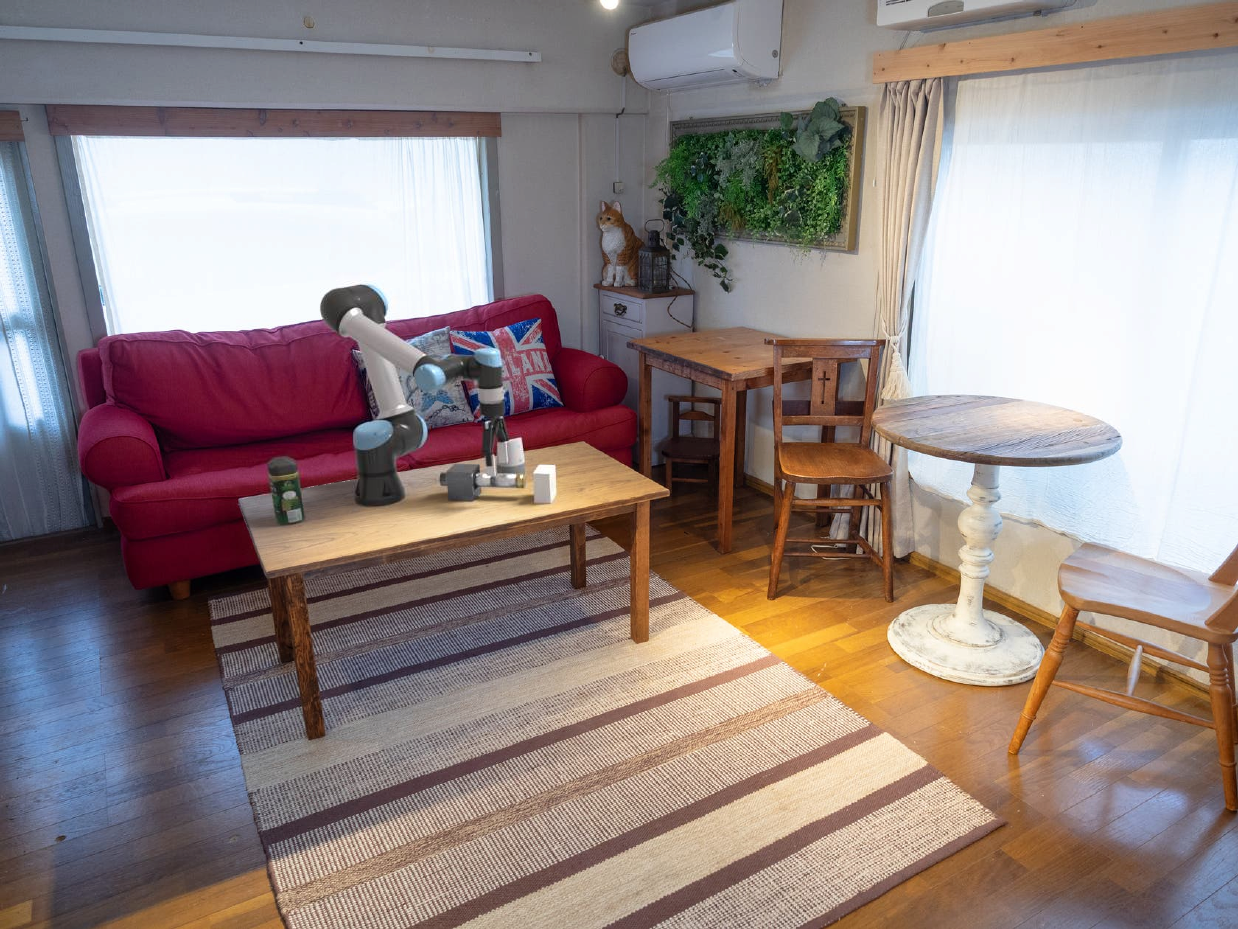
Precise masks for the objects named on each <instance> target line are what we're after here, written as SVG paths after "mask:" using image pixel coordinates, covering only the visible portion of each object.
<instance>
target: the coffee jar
mask: <svg viewBox="0 0 1238 929" xmlns="http://www.w3.org/2000/svg"><path fill="white" fill-rule="evenodd" d="M267 473H268V474H267V475H268V479H269V487H270V493H271V494H270V495H271V497H272V498H271V499H272V503H273V504H272V505H273V510H274V516H275V520H276V522H277V523H278V524H279V525H295V524H298V523H300V522H302V521H304V520H305V518H306V517H305V516H306V515H305V508H304V502H303V496H302V490H301V482H300V476H299V474H300V473H299V468H298V463H297V462H296V460H295V459H294V458H291V457H289V456H288V455H285V456H283V455H282V456H277V457H273V458H272V459H270V460H269V461H268V462H267Z"/></svg>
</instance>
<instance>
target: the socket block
mask: <svg viewBox="0 0 1238 929" xmlns="http://www.w3.org/2000/svg"><path fill="white" fill-rule="evenodd" d="M532 481H533V498H534V499H533V500H534V504H546V505H548V504H552V502H553V501H554V499H555V498H556V496H557V477H556V465H555V464H554V465H553V464H538V466H537V467H536V469H535V470H534V471H533V472H532Z"/></svg>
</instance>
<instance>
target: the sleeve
mask: <svg viewBox="0 0 1238 929" xmlns="http://www.w3.org/2000/svg"><path fill="white" fill-rule="evenodd" d="M480 466H481V465H480V464H479V463H478V464H475V463H474V464H473V463H454V464H452V466H450V467H449V468H448V469H447V470H446V471H445V472H446V478H447V486H446V488H447V500H448V502H450V501H452V502H453V501H455V502H475V500H476V499H477V498H478V497H479V496H480V495H481V494H482V487H474V482H473V474H474V473H481V467H480Z"/></svg>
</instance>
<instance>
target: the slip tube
mask: <svg viewBox="0 0 1238 929" xmlns="http://www.w3.org/2000/svg"><path fill="white" fill-rule="evenodd" d="M473 482H474V487H481V488H495V489H496V488H498V489H525V487H526V483H527V476H526V473H525V474H506V473H497V472H496V476H486V472H480V473H474V474H473ZM439 485H440V486H441V487H447V478H446V471H440V474H439Z"/></svg>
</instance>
